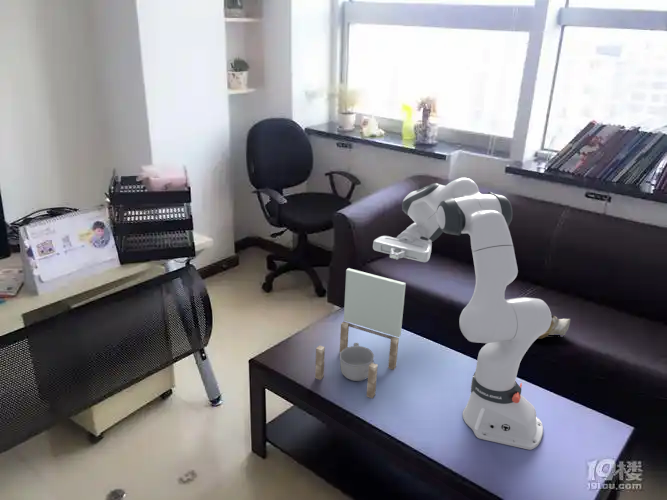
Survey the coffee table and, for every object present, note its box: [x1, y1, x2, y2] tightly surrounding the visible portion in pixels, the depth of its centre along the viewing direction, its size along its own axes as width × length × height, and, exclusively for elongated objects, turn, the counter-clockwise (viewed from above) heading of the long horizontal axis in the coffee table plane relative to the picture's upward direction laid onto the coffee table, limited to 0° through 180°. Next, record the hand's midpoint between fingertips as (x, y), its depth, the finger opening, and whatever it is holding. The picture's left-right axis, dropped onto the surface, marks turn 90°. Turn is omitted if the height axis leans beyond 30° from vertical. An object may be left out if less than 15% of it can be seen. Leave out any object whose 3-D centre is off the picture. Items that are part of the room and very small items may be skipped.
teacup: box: [339, 342, 375, 382], centre depth 186 cm, size 14×11×8 cm
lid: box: [343, 267, 407, 338], centre depth 188 cm, size 20×19×3 cm
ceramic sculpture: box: [537, 314, 571, 340], centre depth 211 cm, size 11×9×15 cm
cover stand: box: [314, 321, 400, 400], centre depth 185 cm, size 20×20×11 cm
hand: (393, 256), depth 195 cm, fingers closed
